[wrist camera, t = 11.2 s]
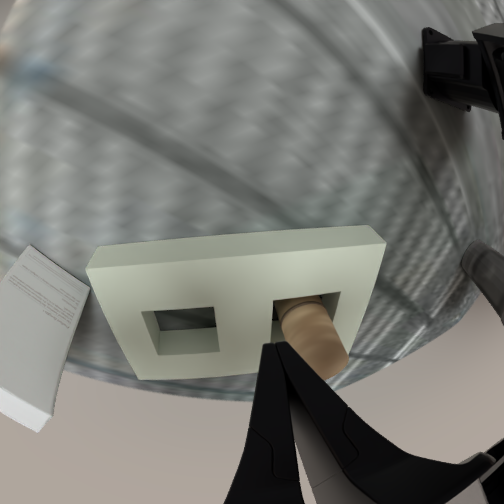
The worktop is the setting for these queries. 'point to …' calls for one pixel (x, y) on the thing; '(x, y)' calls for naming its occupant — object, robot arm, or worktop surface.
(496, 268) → the beverage cup
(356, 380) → the worktop surface
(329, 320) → the peg
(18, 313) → the supplement box
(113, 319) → the board
